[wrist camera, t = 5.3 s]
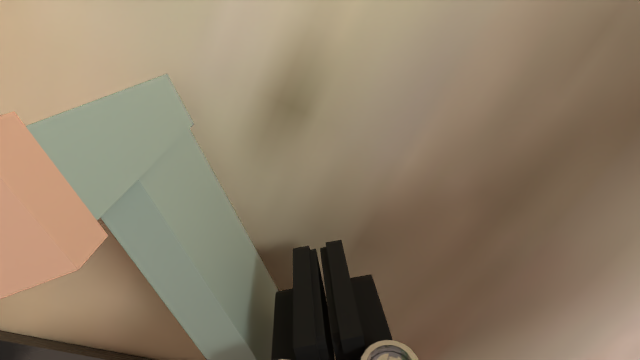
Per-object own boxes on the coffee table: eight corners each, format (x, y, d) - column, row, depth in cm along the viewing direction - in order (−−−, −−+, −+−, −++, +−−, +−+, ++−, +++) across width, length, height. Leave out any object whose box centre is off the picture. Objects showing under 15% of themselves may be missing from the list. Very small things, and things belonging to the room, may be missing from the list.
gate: (343, 391, 16) (377, 624, 10) (303, 404, 16) (312, 642, 10) (169, 64, 10) (-41, 128, 4) (108, 90, 10) (-201, 194, 4)
